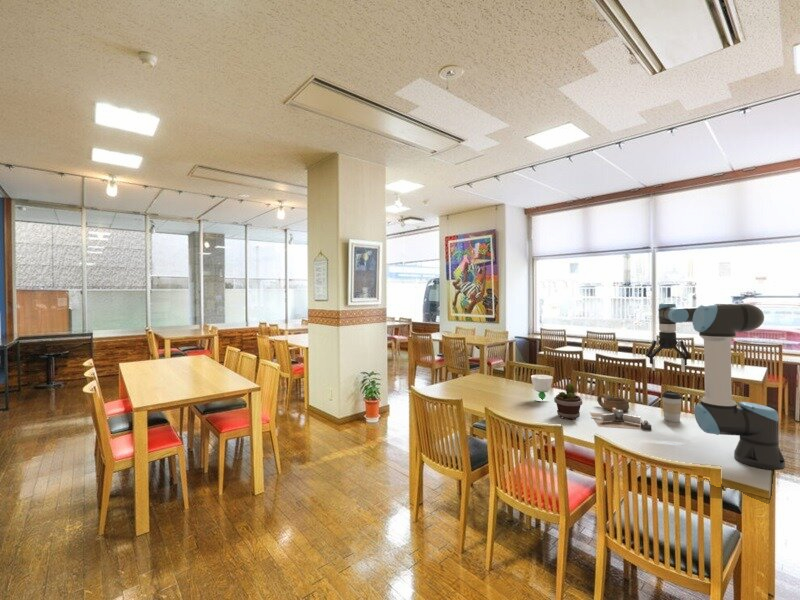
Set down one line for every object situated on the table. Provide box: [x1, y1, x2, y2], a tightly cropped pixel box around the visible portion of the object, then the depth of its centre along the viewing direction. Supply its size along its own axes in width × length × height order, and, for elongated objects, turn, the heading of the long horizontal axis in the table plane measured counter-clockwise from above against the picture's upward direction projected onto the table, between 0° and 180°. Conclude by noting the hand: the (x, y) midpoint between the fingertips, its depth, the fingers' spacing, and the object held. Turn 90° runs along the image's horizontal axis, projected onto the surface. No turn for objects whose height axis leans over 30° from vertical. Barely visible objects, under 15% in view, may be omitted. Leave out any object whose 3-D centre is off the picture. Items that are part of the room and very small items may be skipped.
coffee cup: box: [661, 390, 683, 423], centre depth 207 cm, size 9×9×15 cm
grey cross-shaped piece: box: [601, 408, 642, 424], centre depth 205 cm, size 16×18×6 cm
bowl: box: [596, 393, 630, 413], centre depth 224 cm, size 18×14×10 cm
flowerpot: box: [553, 382, 583, 420], centre depth 215 cm, size 14×15×20 cm
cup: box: [530, 374, 554, 400], centre depth 249 cm, size 14×14×16 cm
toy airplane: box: [589, 412, 652, 431], centre depth 203 cm, size 24×25×6 cm
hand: (668, 370), depth 205 cm, fingers open, 13 cm apart
